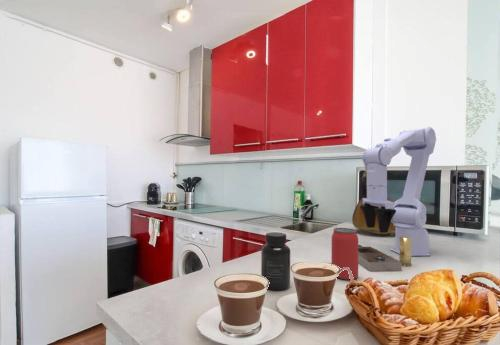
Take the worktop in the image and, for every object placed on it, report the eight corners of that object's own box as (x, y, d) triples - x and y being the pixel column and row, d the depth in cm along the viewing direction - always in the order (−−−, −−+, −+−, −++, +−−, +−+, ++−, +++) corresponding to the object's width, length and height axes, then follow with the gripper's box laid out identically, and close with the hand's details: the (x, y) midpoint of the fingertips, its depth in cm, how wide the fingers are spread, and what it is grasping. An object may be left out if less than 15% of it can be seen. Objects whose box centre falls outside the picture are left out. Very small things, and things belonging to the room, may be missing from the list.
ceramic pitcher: (404, 233, 126) (404, 169, 126) (391, 240, 111) (391, 168, 112) (362, 227, 139) (362, 170, 140) (345, 233, 125) (345, 168, 125)
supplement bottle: (266, 278, 68) (267, 230, 68) (293, 282, 65) (293, 232, 65) (256, 288, 61) (257, 235, 61) (285, 293, 59) (286, 238, 59)
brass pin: (406, 263, 81) (406, 236, 81) (413, 266, 78) (413, 238, 78) (397, 263, 80) (397, 236, 81) (403, 266, 77) (403, 238, 78)
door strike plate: (335, 248, 97) (335, 239, 97) (359, 248, 98) (359, 239, 98) (370, 271, 73) (370, 260, 73) (401, 270, 74) (401, 259, 74)
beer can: (355, 282, 65) (355, 233, 65) (328, 277, 68) (328, 230, 69) (360, 274, 70) (360, 229, 71) (335, 269, 74) (335, 226, 74)
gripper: (353, 185, 90) (353, 225, 90) (376, 186, 76) (376, 234, 75) (374, 185, 91) (374, 225, 90) (400, 186, 76) (400, 234, 76)
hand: (376, 229), depth 83 cm, fingers open, 7 cm apart
